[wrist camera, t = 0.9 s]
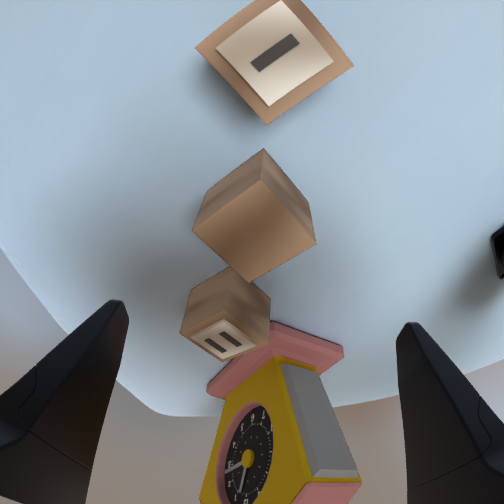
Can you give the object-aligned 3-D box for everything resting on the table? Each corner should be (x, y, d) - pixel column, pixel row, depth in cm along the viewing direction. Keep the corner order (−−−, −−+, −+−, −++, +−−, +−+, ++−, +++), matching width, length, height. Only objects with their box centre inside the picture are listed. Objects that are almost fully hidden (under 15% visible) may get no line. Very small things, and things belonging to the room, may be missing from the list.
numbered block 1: (270, 298, 27) (268, 348, 23) (229, 318, 30) (222, 366, 25) (232, 263, 25) (224, 313, 21) (191, 288, 27) (178, 336, 23)
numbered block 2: (333, 61, 15) (356, 66, 11) (268, 105, 17) (266, 127, 13) (280, -2, 13) (283, -20, 9) (214, 47, 15) (192, 47, 11)
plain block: (308, 201, 21) (316, 244, 17) (253, 236, 23) (248, 282, 20) (263, 147, 19) (260, 179, 15) (207, 190, 21) (191, 230, 17)
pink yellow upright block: (286, 300, 27) (281, 560, 10) (361, 331, 30) (385, 542, 13) (199, 389, 40) (176, 533, 23) (258, 406, 42) (248, 541, 25)
